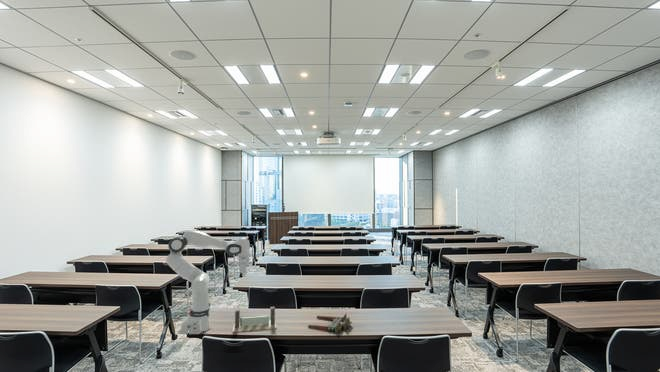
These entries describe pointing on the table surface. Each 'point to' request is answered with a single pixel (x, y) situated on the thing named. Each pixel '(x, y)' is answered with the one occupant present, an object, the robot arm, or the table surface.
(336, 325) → the miniature gate
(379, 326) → the table surface
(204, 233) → the robot arm
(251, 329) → the base
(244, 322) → the gate panel
